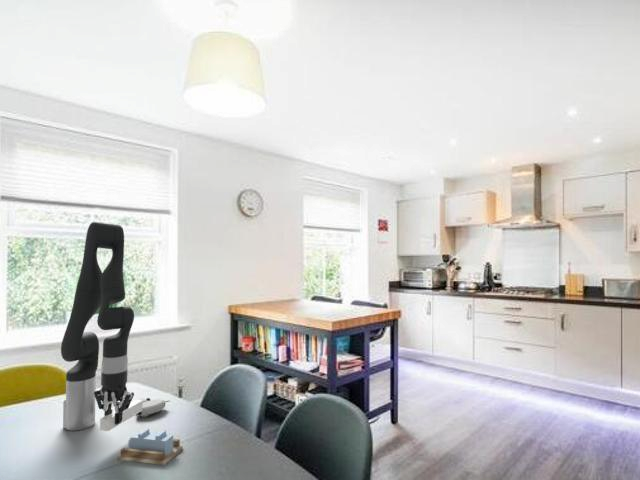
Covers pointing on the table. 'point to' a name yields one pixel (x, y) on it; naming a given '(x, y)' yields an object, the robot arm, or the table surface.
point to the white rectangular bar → (109, 420)
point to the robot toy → (151, 406)
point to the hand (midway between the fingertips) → (113, 422)
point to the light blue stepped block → (152, 441)
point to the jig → (150, 454)
